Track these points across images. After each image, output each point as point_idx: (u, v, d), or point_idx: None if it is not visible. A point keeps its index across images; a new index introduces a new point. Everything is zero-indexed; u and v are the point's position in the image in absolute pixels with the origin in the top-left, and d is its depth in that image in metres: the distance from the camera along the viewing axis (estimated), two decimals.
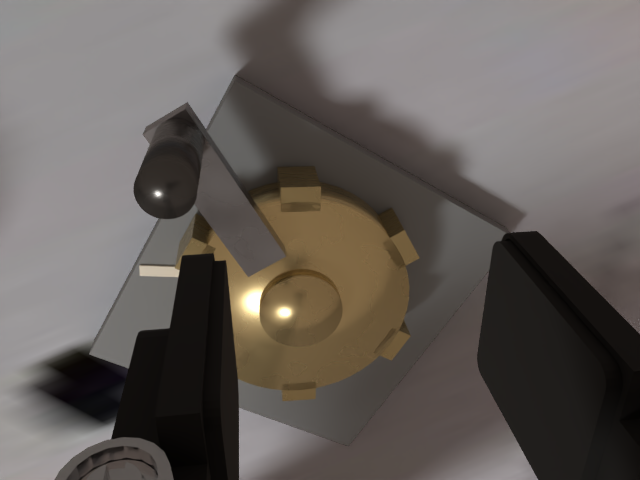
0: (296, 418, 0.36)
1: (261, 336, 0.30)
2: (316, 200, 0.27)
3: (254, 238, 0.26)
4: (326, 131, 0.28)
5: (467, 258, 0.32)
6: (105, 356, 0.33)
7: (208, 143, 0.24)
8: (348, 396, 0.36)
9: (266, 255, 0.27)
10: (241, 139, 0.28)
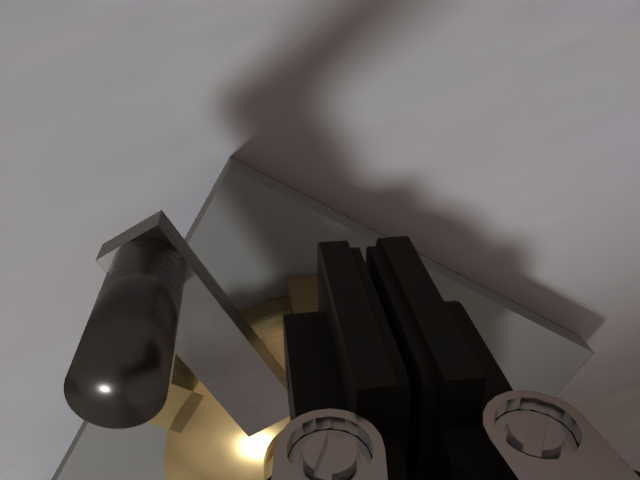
0: None
1: None
2: None
3: (258, 389, 0.19)
4: (353, 229, 0.21)
5: (532, 379, 0.25)
6: None
7: (191, 269, 0.17)
8: None
9: (274, 409, 0.19)
10: (239, 243, 0.21)
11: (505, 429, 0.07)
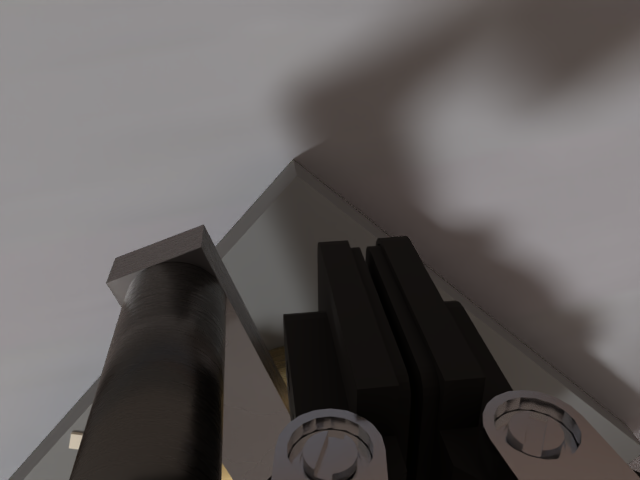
0: None
1: None
2: None
3: None
4: None
5: None
6: None
7: (233, 311, 0.12)
8: None
9: None
10: (285, 268, 0.16)
11: (505, 429, 0.07)
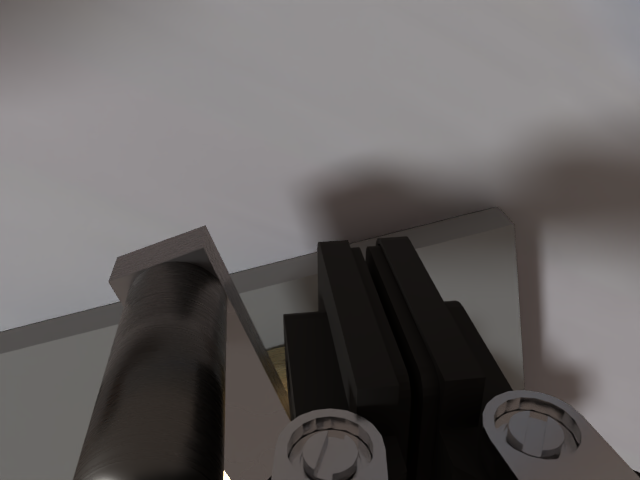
0: None
1: None
2: None
3: None
4: None
5: None
6: None
7: (233, 311, 0.12)
8: None
9: None
10: (442, 288, 0.17)
11: (505, 429, 0.07)
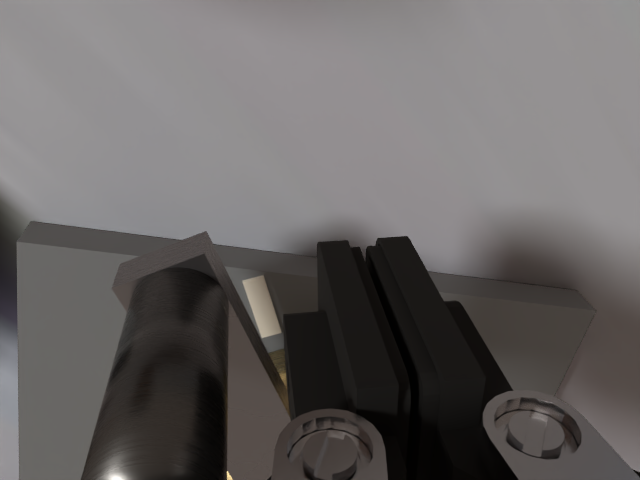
0: None
1: None
2: None
3: None
4: None
5: None
6: (26, 270, 0.16)
7: (235, 315, 0.13)
8: None
9: None
10: (514, 343, 0.19)
11: (505, 429, 0.07)
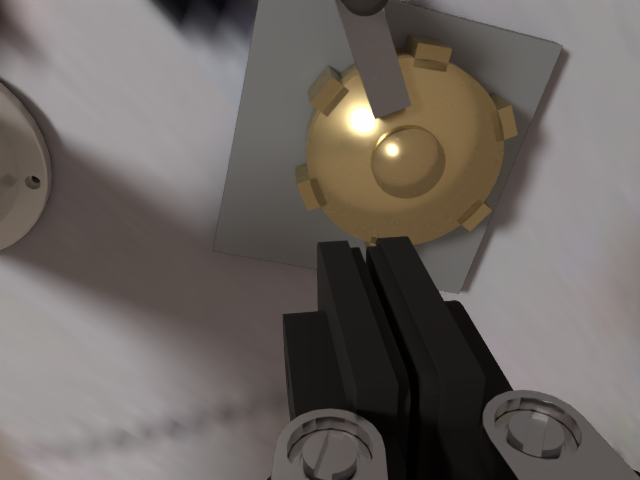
0: (234, 193, 0.36)
1: (366, 185, 0.34)
2: (445, 60, 0.30)
3: (390, 82, 0.30)
4: None
5: (435, 269, 0.40)
6: None
7: None
8: (274, 230, 0.38)
9: (395, 101, 0.30)
10: (515, 63, 0.34)
11: (505, 429, 0.07)
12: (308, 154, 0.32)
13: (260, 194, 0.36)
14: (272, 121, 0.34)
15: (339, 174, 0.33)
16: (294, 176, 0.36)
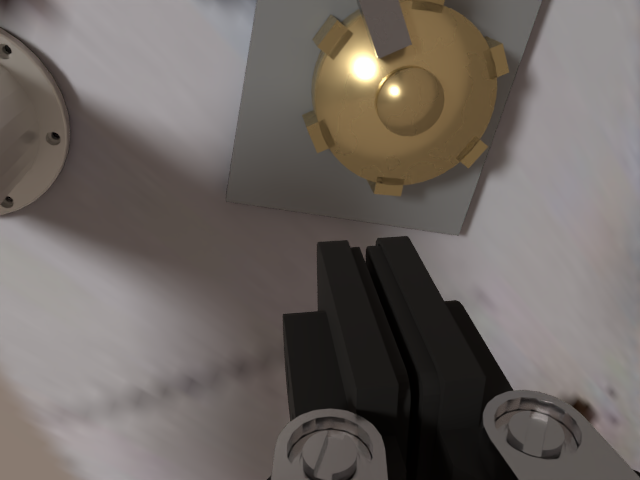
0: (245, 143, 0.38)
1: (371, 126, 0.36)
2: (440, 2, 0.33)
3: (391, 22, 0.32)
4: None
5: (436, 211, 0.42)
6: None
7: None
8: (284, 178, 0.40)
9: (397, 40, 0.33)
10: (503, 8, 0.36)
11: (505, 429, 0.07)
12: (316, 97, 0.35)
13: (270, 143, 0.38)
14: (280, 70, 0.36)
15: (346, 115, 0.35)
16: (301, 124, 0.38)
